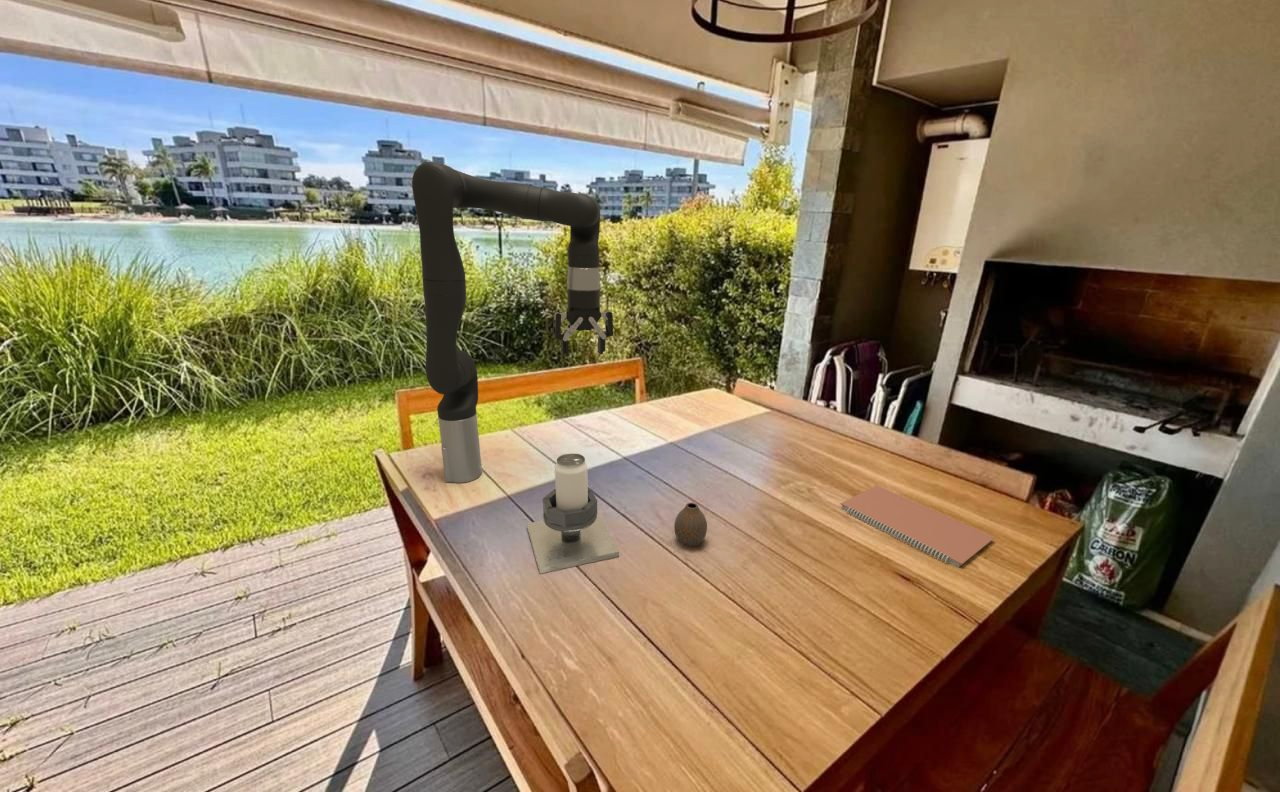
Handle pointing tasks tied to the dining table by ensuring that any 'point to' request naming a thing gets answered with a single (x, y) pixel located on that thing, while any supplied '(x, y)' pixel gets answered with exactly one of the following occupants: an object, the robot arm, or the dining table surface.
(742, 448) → the dining table surface
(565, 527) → the cup bracket
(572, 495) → the can
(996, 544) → the dining table surface
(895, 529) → the notebook
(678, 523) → the vase
